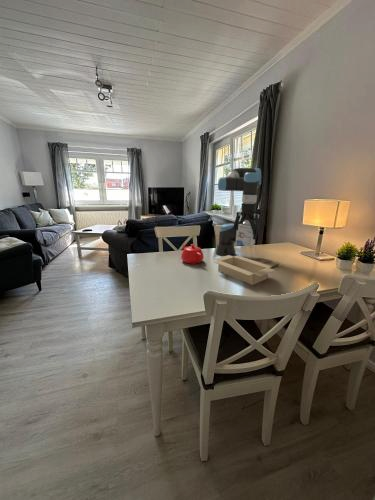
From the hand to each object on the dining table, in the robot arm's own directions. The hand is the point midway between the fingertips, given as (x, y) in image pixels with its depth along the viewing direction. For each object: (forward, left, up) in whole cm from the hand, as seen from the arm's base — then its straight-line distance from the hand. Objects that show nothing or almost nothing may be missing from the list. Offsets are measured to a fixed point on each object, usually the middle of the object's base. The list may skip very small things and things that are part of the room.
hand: (244, 242), depth 121 cm
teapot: (-36, -9, -20) cm, 42 cm away
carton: (0, 0, -20) cm, 20 cm away
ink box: (0, 0, -1) cm, 1 cm away
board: (-2, +26, -20) cm, 32 cm away
